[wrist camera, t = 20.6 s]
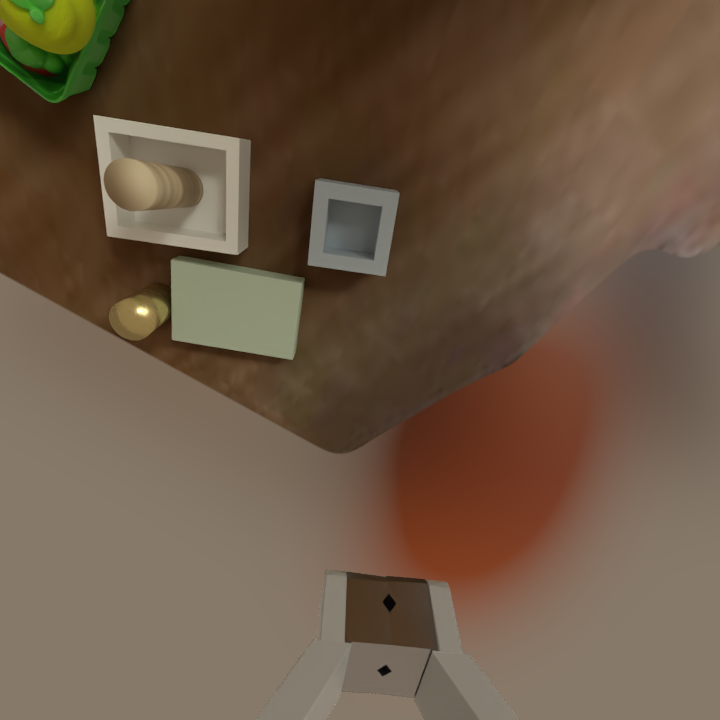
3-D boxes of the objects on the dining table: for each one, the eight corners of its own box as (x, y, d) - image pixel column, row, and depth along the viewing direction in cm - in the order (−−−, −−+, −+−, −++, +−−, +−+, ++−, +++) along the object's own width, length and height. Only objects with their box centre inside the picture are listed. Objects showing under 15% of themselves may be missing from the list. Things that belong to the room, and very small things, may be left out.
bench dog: (178, 285, 41) (149, 304, 35) (179, 319, 42) (152, 343, 37) (140, 280, 41) (106, 298, 35) (143, 314, 42) (111, 337, 37)
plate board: (305, 276, 41) (302, 283, 39) (296, 349, 44) (292, 360, 42) (181, 254, 40) (170, 259, 38) (181, 330, 43) (171, 339, 41)
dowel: (197, 164, 36) (144, 153, 26) (207, 204, 37) (161, 207, 28) (160, 171, 36) (95, 162, 26) (172, 210, 37) (114, 214, 28)
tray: (250, 140, 35) (239, 138, 32) (248, 247, 39) (237, 255, 36) (118, 119, 35) (93, 114, 32) (128, 229, 39) (107, 236, 35)
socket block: (396, 190, 37) (399, 193, 33) (383, 265, 40) (385, 276, 36) (319, 178, 37) (315, 180, 33) (312, 255, 40) (307, 265, 36)
